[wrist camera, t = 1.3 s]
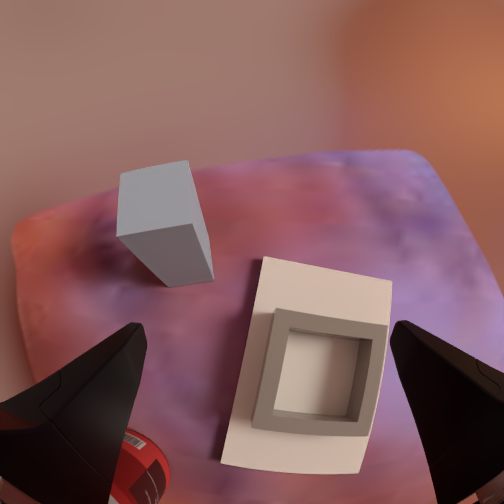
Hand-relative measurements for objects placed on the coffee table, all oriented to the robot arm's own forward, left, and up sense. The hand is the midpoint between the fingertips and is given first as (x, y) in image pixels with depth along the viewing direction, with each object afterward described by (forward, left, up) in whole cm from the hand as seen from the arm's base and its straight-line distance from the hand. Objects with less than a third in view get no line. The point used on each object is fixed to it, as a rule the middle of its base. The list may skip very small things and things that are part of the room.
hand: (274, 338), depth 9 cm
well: (0, -5, -14) cm, 15 cm away
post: (+3, +9, -14) cm, 16 cm away
